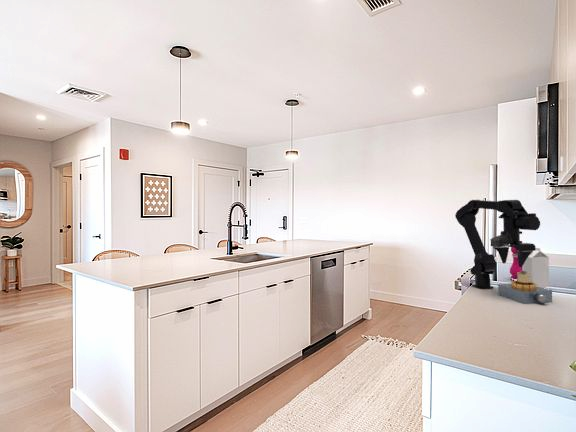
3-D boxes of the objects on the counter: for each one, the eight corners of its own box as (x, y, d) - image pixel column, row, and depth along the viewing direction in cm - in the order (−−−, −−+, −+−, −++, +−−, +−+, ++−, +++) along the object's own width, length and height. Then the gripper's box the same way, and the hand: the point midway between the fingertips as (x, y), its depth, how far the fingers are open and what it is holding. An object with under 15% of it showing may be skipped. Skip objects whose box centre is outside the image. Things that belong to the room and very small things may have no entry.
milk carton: (538, 286, 153) (538, 246, 153) (549, 290, 146) (548, 248, 146) (522, 287, 154) (521, 246, 153) (532, 290, 147) (531, 248, 146)
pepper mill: (524, 279, 169) (523, 240, 168) (529, 282, 162) (528, 242, 161) (507, 278, 171) (507, 240, 170) (512, 281, 164) (511, 242, 164)
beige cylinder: (514, 286, 139) (514, 270, 138) (524, 285, 139) (524, 269, 139) (523, 288, 134) (522, 272, 134) (533, 288, 134) (532, 271, 134)
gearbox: (498, 294, 143) (498, 280, 143) (523, 292, 144) (523, 278, 144) (530, 306, 126) (530, 289, 126) (559, 304, 127) (558, 288, 127)
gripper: (479, 228, 149) (479, 262, 150) (510, 231, 131) (511, 270, 131) (502, 227, 150) (502, 261, 151) (536, 230, 132) (536, 268, 132)
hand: (512, 265), depth 141 cm, fingers open, 9 cm apart
